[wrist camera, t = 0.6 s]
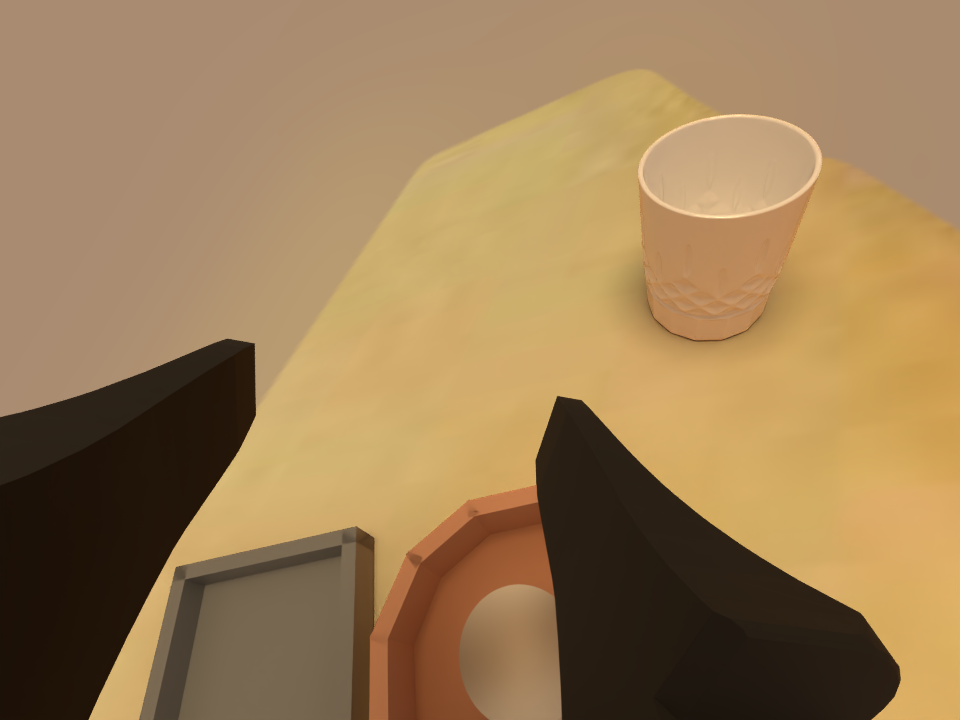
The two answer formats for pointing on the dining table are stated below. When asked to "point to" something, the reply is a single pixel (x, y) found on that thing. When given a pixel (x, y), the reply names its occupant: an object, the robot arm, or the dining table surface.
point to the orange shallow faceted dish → (450, 604)
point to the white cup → (721, 218)
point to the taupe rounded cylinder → (513, 655)
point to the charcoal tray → (269, 634)
